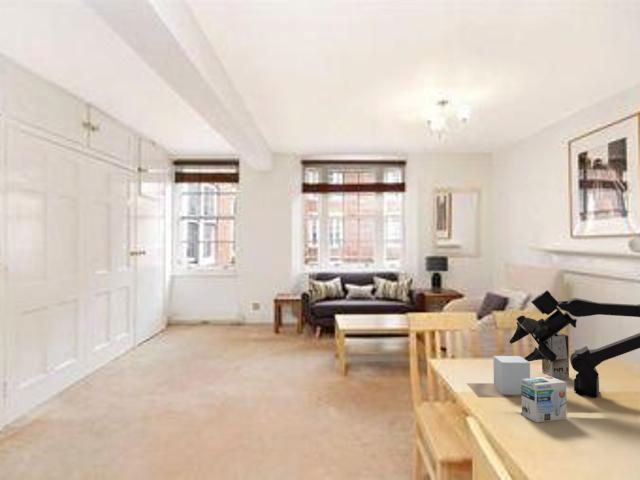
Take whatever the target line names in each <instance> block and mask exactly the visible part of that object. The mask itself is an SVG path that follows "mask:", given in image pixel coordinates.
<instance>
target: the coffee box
mask: <svg viewBox="0 0 640 480" xmlns="http://www.w3.org/2000/svg"><path fill="white" fill-rule="evenodd" d="M557 334H558V336H557V337H556V336H552V337H551V338H550V339H548V340H547V341H548V343H547V345H548V346H549V347H550V348H551V349H552V350H553V351H554V352H555V354H556V355H557V357H556V359H555V360H554V361H553V362H551V361H550V360H548V361H547V360H546V359H543V360H541V367H542V368H541V369H542V371H541V372H542V374H545V375H547V376H551V377H553V378H556V379H558V380H562V379H563V380H564V379H567V380H569V378H570V355H569V354H570V353H569V351H570V348H569V338H570V337H569V335H567V334H564V333H562V332H560V331H559V332H558V333H557Z"/></svg>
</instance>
